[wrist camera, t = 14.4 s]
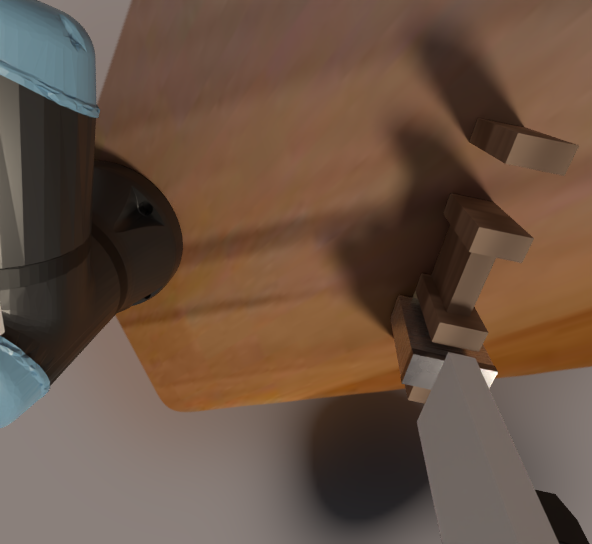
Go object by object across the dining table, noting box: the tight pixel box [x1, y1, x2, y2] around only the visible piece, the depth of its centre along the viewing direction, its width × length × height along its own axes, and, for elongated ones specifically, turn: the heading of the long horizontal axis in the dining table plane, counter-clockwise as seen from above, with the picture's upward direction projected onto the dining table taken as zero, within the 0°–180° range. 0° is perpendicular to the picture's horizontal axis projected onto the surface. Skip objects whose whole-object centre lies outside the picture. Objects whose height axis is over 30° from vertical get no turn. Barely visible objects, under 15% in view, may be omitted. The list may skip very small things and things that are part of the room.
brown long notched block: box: [405, 118, 579, 403], centre depth 36 cm, size 4×24×9 cm, turn 170°
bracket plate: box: [390, 295, 498, 390], centre depth 39 cm, size 7×3×10 cm, turn 79°
